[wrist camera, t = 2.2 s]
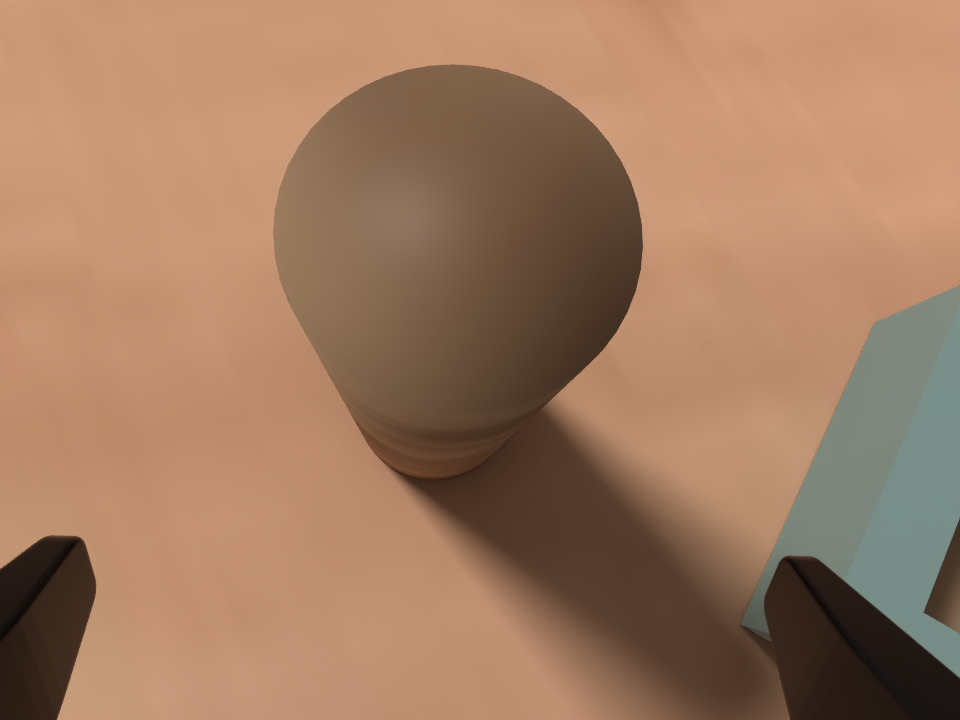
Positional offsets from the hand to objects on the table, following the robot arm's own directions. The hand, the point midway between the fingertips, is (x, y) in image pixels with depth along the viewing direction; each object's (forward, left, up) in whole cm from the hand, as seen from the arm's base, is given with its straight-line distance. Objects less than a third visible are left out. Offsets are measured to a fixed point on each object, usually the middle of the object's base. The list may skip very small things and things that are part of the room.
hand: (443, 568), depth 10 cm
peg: (+3, +3, -11) cm, 11 cm away
